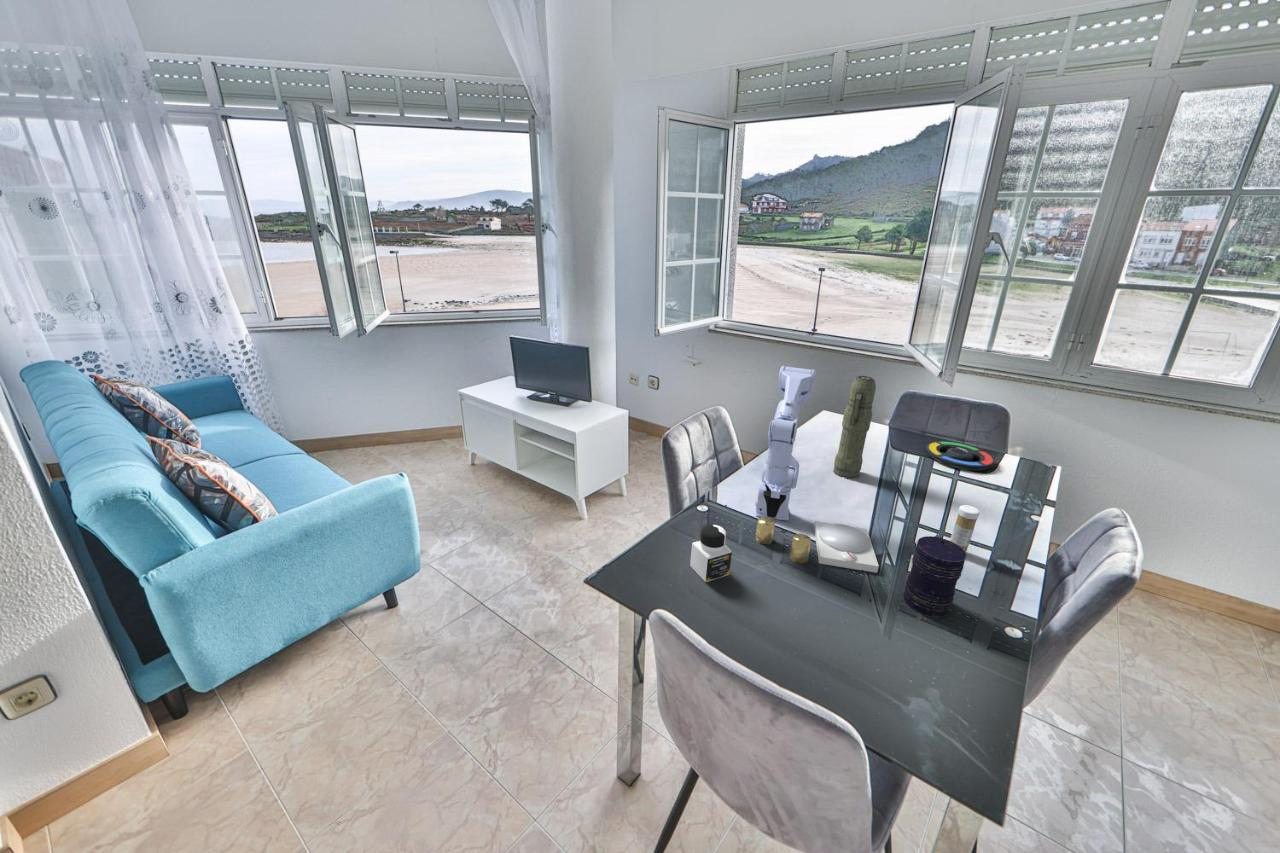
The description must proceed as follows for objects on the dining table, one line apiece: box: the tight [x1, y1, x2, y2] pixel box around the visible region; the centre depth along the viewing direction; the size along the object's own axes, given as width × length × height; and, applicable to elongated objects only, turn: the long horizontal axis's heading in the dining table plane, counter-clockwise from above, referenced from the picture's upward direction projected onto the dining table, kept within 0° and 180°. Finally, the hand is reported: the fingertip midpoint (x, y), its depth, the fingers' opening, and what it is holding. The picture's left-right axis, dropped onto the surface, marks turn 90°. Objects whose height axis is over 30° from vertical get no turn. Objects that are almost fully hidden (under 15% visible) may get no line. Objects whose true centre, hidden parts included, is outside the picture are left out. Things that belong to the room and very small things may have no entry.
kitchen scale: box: [813, 520, 880, 574], centre depth 140 cm, size 14×18×3 cm
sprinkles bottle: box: [949, 504, 980, 554], centre depth 139 cm, size 5×5×13 cm
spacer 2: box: [789, 533, 812, 564], centre depth 135 cm, size 4×4×6 cm
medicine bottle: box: [689, 524, 733, 583], centre depth 127 cm, size 7×7×12 cm
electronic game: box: [925, 440, 996, 472], centre depth 199 cm, size 23×23×5 cm
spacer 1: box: [755, 516, 776, 545], centre depth 142 cm, size 4×4×6 cm
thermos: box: [832, 375, 877, 480], centre depth 179 cm, size 9×12×35 cm
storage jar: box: [902, 535, 967, 618], centre depth 119 cm, size 10×10×15 cm
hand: (771, 509), depth 140 cm, fingers open, 7 cm apart
